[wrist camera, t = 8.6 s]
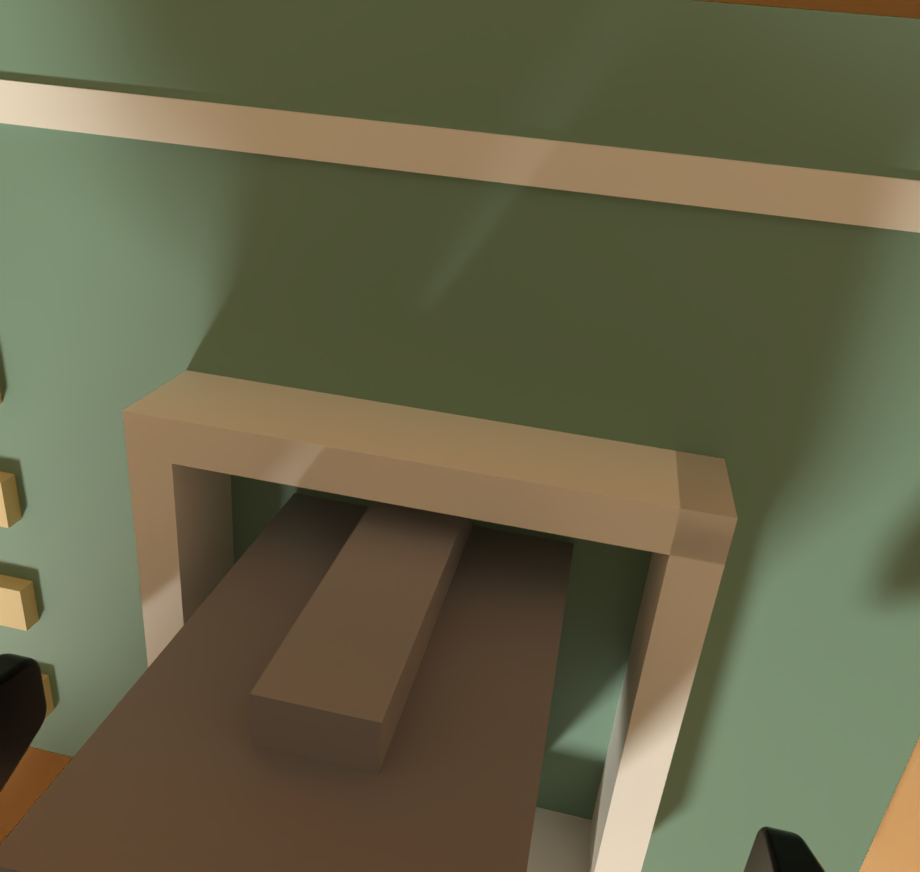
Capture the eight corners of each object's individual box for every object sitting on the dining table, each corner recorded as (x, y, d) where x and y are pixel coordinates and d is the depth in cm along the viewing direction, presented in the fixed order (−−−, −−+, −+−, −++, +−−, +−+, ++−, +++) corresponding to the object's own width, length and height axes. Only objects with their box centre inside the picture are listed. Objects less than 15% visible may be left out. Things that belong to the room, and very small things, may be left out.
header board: (-7, 683, 16) (-120, 789, 14) (-160, -62, 11) (-394, -103, 8) (812, 877, 14) (848, 1046, 11) (1152, 48, 8) (1360, 35, 6)
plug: (295, 706, 13) (41, 1166, 8) (294, 456, 11) (-51, 830, 6) (537, 760, 12) (454, 1305, 7) (580, 505, 11) (514, 977, 5)
